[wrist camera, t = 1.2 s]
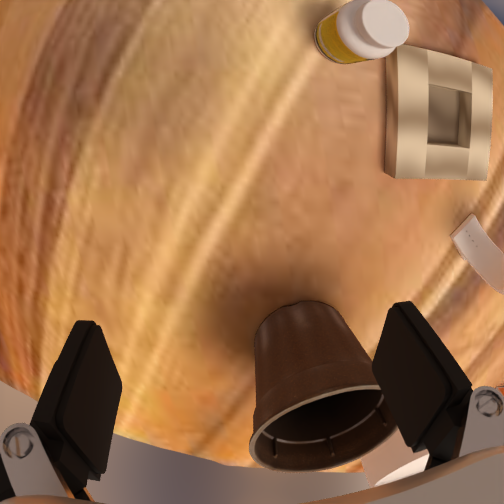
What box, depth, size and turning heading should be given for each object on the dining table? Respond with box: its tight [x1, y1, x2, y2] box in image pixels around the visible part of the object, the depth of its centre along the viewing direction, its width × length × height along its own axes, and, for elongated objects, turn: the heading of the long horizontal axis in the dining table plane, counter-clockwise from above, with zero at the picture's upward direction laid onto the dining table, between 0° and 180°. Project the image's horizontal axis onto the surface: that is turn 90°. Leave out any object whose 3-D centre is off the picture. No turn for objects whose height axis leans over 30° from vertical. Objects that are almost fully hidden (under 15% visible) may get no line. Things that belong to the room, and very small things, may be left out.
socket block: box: [384, 44, 493, 181], centre depth 28 cm, size 14×14×2 cm
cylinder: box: [360, 429, 429, 488], centre depth 43 cm, size 17×17×28 cm
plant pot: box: [249, 301, 399, 473], centre depth 34 cm, size 16×16×16 cm
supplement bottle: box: [314, 0, 409, 64], centre depth 21 cm, size 5×5×10 cm
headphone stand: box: [450, 213, 504, 294], centre depth 32 cm, size 5×6×12 cm
